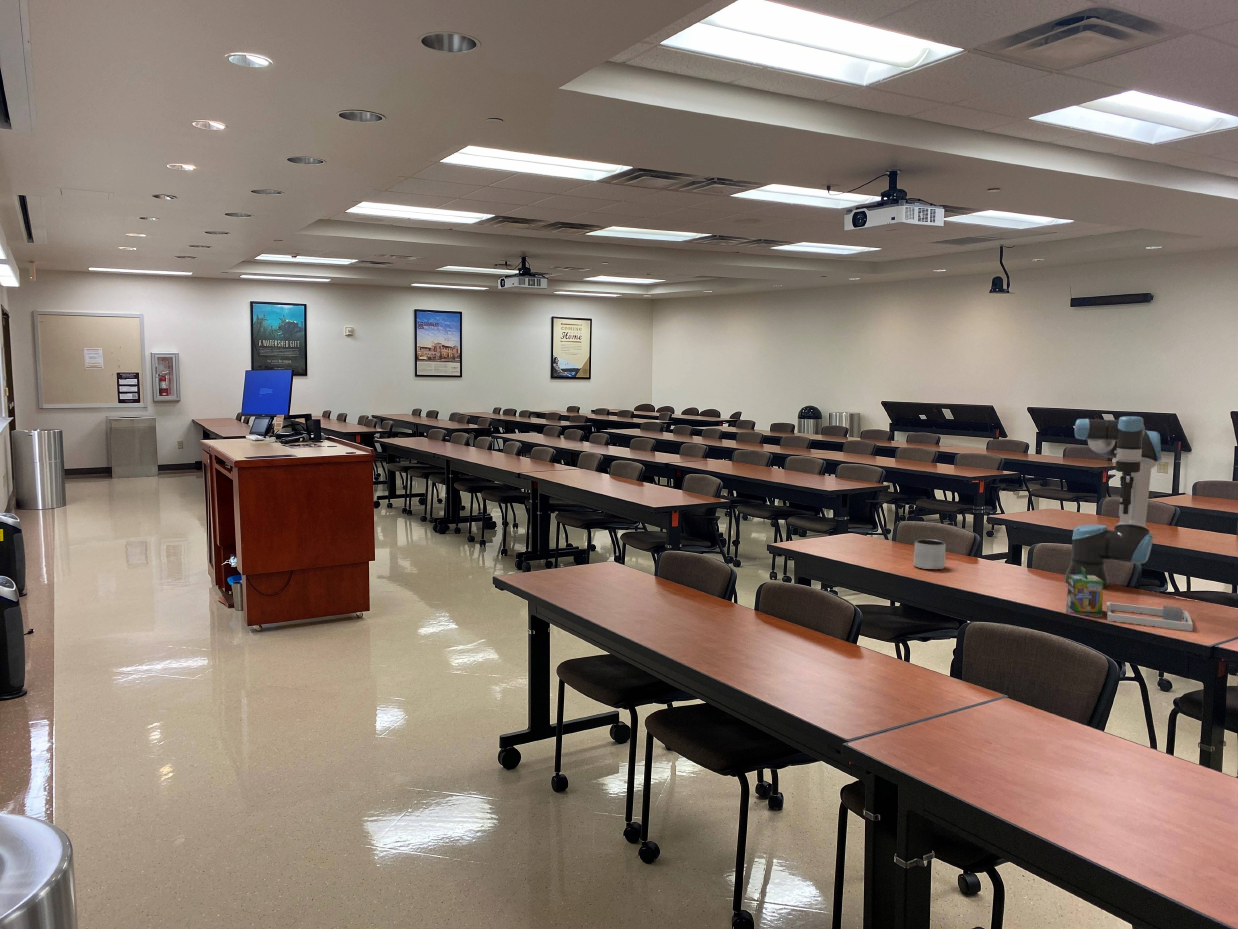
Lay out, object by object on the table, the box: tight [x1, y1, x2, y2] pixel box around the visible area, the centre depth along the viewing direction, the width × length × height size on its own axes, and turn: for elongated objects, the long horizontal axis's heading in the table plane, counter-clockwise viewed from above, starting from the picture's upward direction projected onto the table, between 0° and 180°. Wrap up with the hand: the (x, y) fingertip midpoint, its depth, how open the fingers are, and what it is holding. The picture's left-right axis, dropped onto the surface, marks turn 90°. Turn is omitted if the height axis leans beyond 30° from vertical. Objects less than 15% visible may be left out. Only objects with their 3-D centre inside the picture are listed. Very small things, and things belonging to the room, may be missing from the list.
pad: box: [1065, 604, 1103, 618], centre depth 297 cm, size 11×11×1 cm
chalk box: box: [1066, 567, 1104, 614], centre depth 297 cm, size 9×9×15 cm
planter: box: [913, 538, 946, 570], centre depth 360 cm, size 13×12×11 cm
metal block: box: [1161, 605, 1184, 622], centre depth 284 cm, size 5×5×5 cm
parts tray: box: [1105, 601, 1194, 632], centre depth 287 cm, size 16×24×2 cm, turn 61°
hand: (1123, 519), depth 300 cm, fingers open, 13 cm apart
